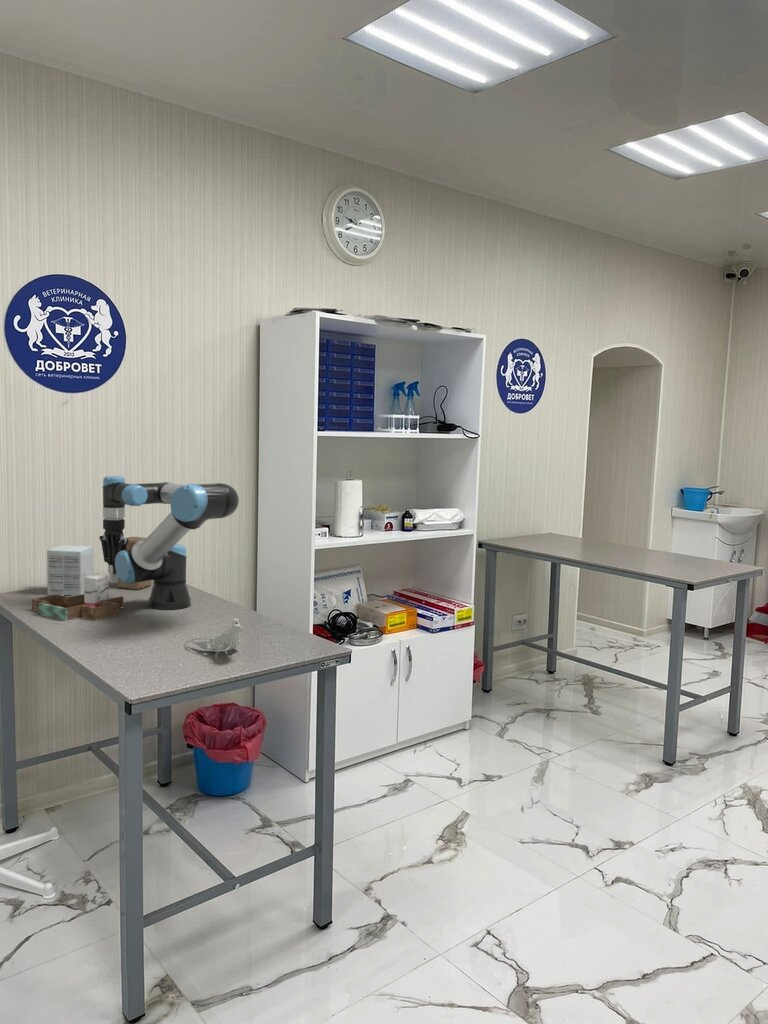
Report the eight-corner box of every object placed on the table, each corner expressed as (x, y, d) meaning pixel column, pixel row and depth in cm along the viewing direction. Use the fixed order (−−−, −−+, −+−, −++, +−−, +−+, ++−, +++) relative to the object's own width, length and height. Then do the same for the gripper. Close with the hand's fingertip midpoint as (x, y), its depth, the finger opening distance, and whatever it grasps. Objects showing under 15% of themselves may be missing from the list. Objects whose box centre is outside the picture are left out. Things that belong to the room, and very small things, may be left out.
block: (116, 588, 316) (116, 539, 314) (131, 583, 326) (131, 536, 324) (138, 590, 313) (138, 541, 311) (152, 586, 323) (152, 537, 321)
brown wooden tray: (136, 610, 281) (136, 599, 280) (79, 624, 260) (79, 612, 259) (84, 599, 295) (84, 589, 294) (25, 611, 274) (25, 600, 273)
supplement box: (61, 588, 313) (60, 544, 311) (94, 589, 313) (93, 546, 311) (46, 595, 300) (46, 550, 298) (81, 596, 300) (80, 551, 298)
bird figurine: (232, 638, 249) (258, 597, 232) (239, 665, 245) (267, 625, 228) (183, 644, 240) (206, 601, 223) (189, 671, 236) (214, 630, 219)
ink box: (95, 611, 278) (95, 578, 277) (83, 610, 279) (83, 577, 278) (109, 605, 286) (109, 573, 285) (97, 604, 287) (96, 573, 286)
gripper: (134, 519, 286) (134, 583, 289) (109, 516, 293) (109, 578, 295) (118, 521, 280) (117, 586, 282) (93, 517, 286) (93, 581, 289)
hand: (113, 582), depth 289 cm, fingers closed
